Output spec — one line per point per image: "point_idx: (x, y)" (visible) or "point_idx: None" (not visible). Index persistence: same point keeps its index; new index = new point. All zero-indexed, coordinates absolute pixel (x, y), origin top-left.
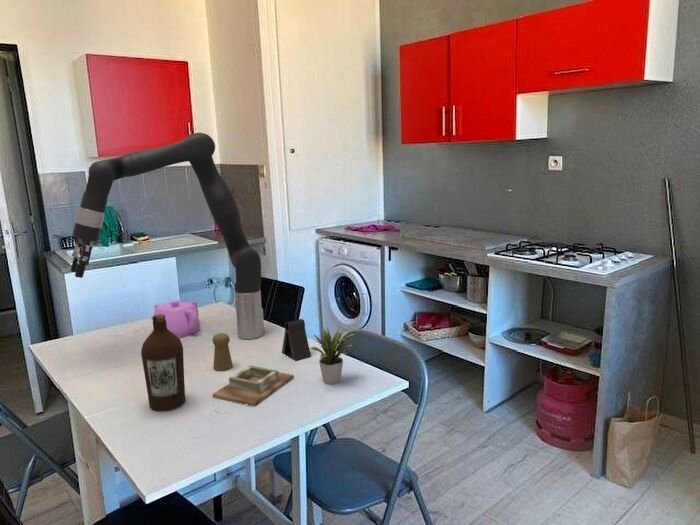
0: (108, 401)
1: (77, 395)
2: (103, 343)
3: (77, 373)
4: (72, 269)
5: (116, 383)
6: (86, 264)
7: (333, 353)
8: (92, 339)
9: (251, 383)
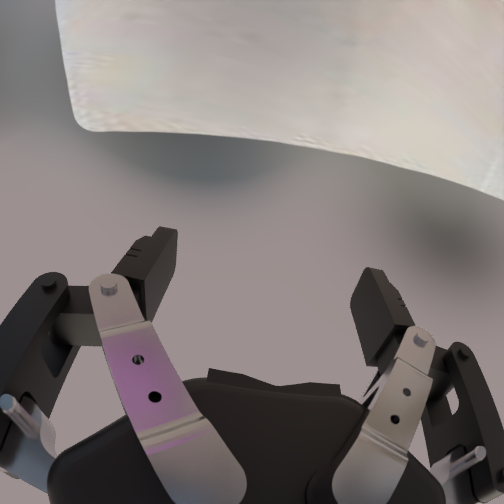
0: (476, 151)
1: (416, 161)
2: (149, 8)
3: (315, 111)
4: (171, 273)
5: (435, 98)
6: (459, 354)
7: None
8: (103, 28)
9: None
